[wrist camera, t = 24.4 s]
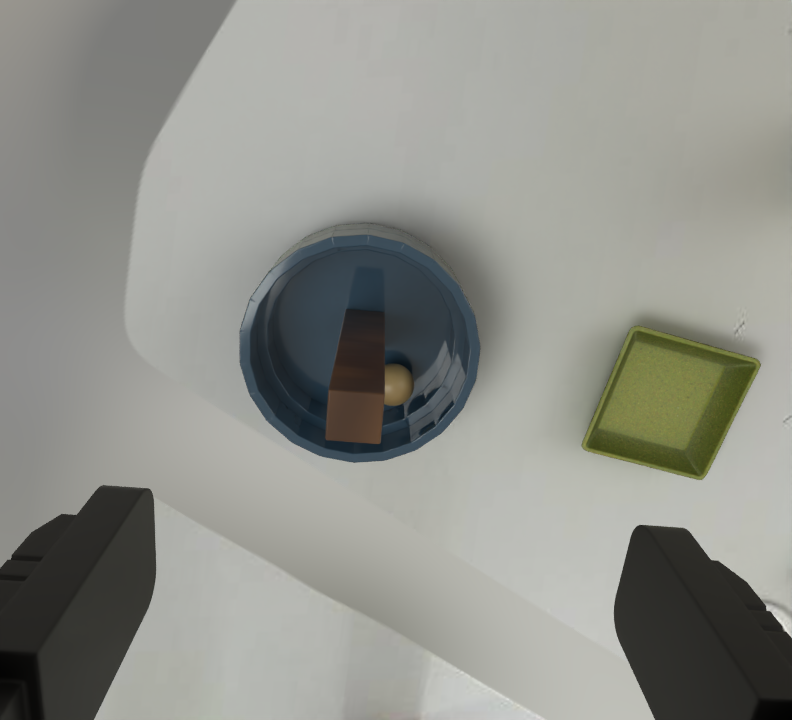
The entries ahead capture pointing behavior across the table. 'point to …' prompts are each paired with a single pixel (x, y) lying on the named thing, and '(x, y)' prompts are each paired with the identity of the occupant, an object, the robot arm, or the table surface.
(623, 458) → the green square tray
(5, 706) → the robot arm
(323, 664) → the table surface
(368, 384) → the stick
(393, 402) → the bead
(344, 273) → the bowl
